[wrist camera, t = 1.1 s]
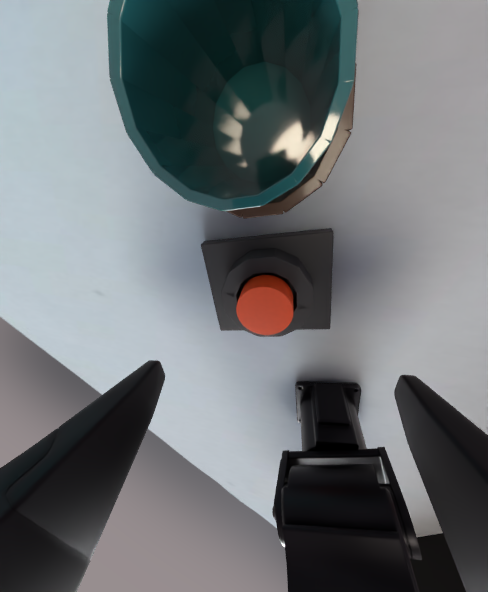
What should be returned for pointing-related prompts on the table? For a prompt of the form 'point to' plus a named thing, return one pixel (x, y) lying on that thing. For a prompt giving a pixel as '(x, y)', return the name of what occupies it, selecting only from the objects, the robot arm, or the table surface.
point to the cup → (232, 90)
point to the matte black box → (436, 566)
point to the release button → (265, 305)
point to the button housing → (274, 274)
